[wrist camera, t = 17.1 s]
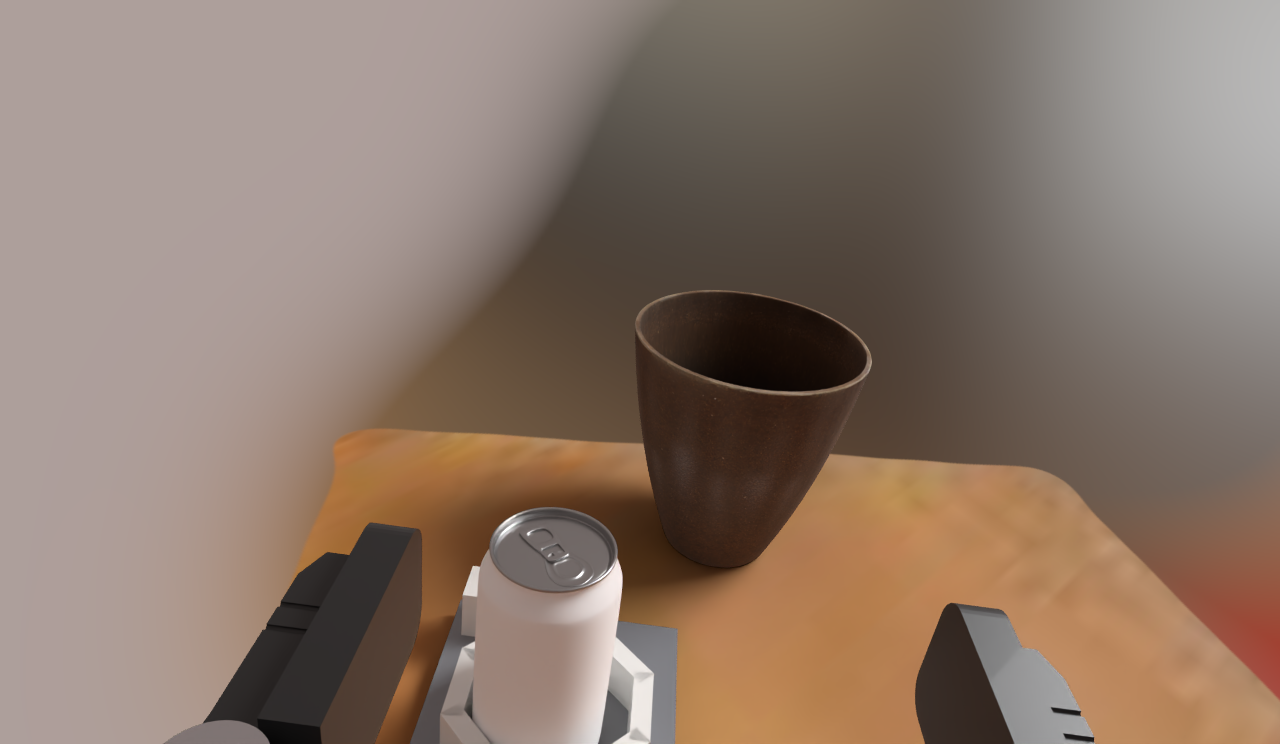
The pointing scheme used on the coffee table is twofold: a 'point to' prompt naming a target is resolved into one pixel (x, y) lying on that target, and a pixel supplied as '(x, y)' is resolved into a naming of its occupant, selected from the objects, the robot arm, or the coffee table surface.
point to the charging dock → (635, 695)
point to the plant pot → (739, 414)
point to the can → (545, 628)
